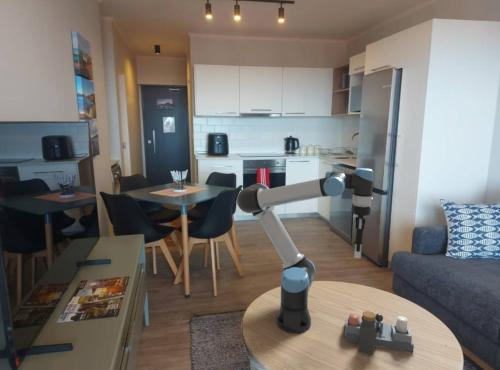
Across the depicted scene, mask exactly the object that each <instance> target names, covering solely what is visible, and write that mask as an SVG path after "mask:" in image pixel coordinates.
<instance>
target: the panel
mask: <svg viewBox="0 0 500 370" xmlns="http://www.w3.org/2000/svg"><path fill="white" fill-rule="evenodd" d="M344 322H345V323H344V325H345V326H344V327H345V329H344V330H345V333H344V335H345V341H346V342H350V343H356V344H359V334H360V323H361V322H362V319H360V318H359V327H357V326H350V325H349V317H345V320H344ZM414 346H415V345H414V341H413V336H412V333H411V330H410V326H407V333H405V334H403V333H399V332H397V331H396V324H393V323H390V324H389V323H384V319H383V320H382V321H381V322H380V324H379V330H377V329H376V339H375V347H379V348H380V347H381V348H387V349H393V350H400V351H404V352H405V351H406V352H414V349H415V347H414Z"/></svg>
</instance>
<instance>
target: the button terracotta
mask: <svg viewBox="0 0 500 370" xmlns="http://www.w3.org/2000/svg"><path fill="white" fill-rule="evenodd" d="M348 318H349V325H350V326H357V327H359V319H360V315H358V314H357V313H349V315H348Z"/></svg>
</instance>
